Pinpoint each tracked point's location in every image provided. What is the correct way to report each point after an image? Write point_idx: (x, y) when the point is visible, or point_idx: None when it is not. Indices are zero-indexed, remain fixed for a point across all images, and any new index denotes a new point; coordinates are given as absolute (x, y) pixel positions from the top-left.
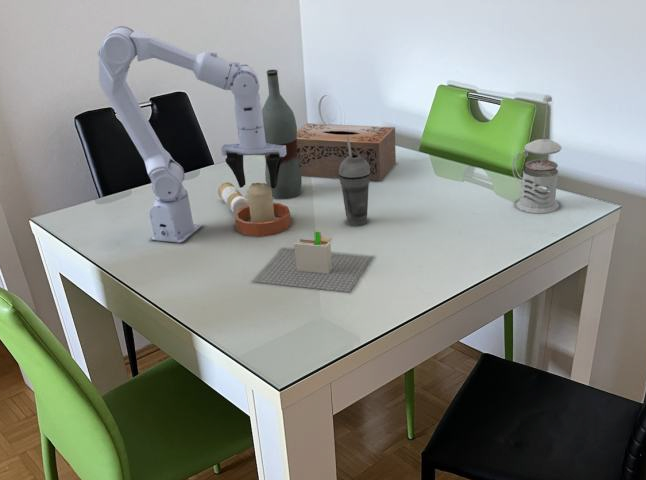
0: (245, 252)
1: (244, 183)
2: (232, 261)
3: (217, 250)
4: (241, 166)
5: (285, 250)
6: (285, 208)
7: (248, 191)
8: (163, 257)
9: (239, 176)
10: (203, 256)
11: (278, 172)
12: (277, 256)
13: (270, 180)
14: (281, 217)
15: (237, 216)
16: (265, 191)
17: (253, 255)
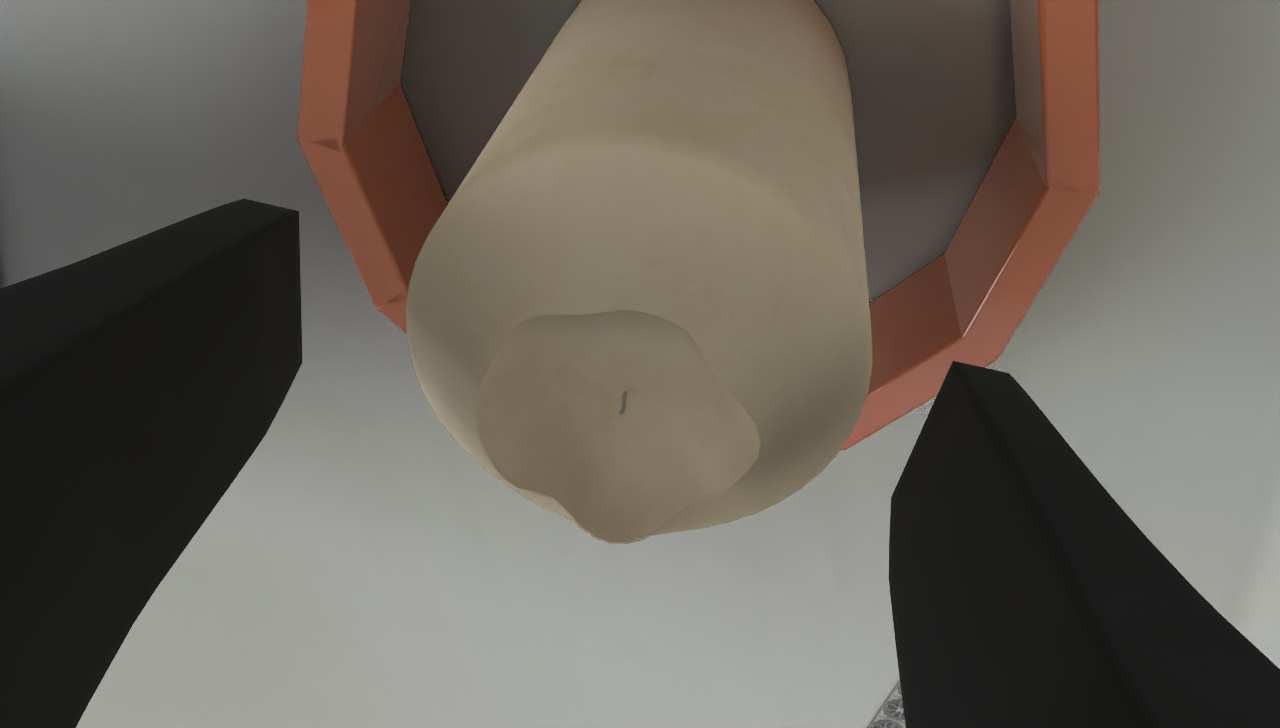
0: (618, 618)
1: (283, 264)
2: (553, 708)
3: (380, 558)
4: (29, 513)
5: None
6: (1044, 41)
7: (459, 441)
8: None
9: (174, 549)
10: (313, 620)
11: (1157, 558)
12: (883, 708)
13: (902, 662)
14: (961, 350)
15: (373, 239)
16: (771, 499)
17: (691, 665)
